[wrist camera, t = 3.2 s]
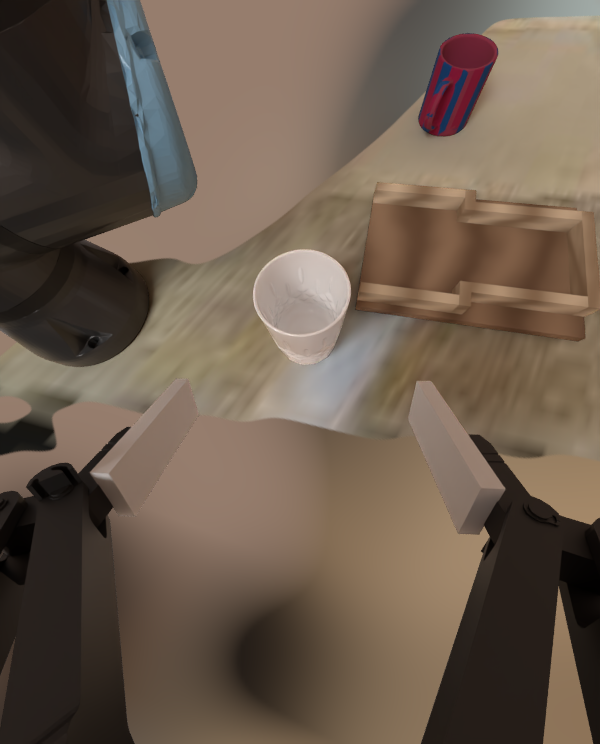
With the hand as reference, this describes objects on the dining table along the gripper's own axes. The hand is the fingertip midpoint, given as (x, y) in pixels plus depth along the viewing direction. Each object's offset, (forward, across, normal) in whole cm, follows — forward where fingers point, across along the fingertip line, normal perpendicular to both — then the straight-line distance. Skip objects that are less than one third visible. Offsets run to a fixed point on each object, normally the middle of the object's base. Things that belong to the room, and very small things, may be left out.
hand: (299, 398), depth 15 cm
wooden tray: (+23, +19, +4) cm, 30 cm away
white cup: (+16, 0, -3) cm, 16 cm away
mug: (+39, +18, +20) cm, 47 cm away
